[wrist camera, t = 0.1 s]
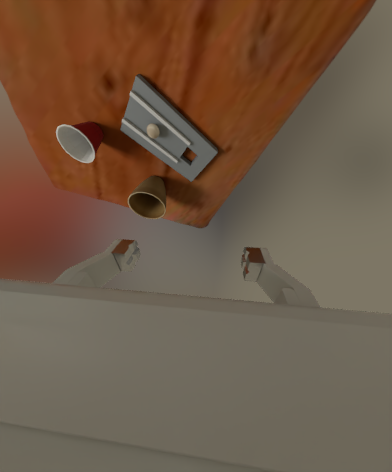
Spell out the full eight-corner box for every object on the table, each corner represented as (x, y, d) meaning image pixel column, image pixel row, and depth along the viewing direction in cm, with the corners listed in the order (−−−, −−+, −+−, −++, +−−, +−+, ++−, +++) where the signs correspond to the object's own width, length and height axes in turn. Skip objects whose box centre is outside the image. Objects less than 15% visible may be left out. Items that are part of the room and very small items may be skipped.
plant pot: (143, 193, 74) (132, 216, 65) (137, 165, 62) (123, 189, 53) (172, 198, 75) (165, 221, 66) (172, 171, 63) (164, 196, 54)
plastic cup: (88, 104, 46) (65, 117, 40) (116, 138, 54) (102, 154, 47) (70, 121, 51) (47, 136, 44) (98, 151, 59) (83, 167, 52)
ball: (151, 118, 46) (147, 122, 44) (162, 127, 48) (160, 132, 45) (146, 129, 49) (143, 134, 46) (157, 138, 50) (154, 143, 48)
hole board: (139, 73, 40) (134, 76, 38) (217, 149, 54) (217, 154, 52) (123, 127, 51) (118, 131, 49) (192, 178, 65) (191, 183, 63)
